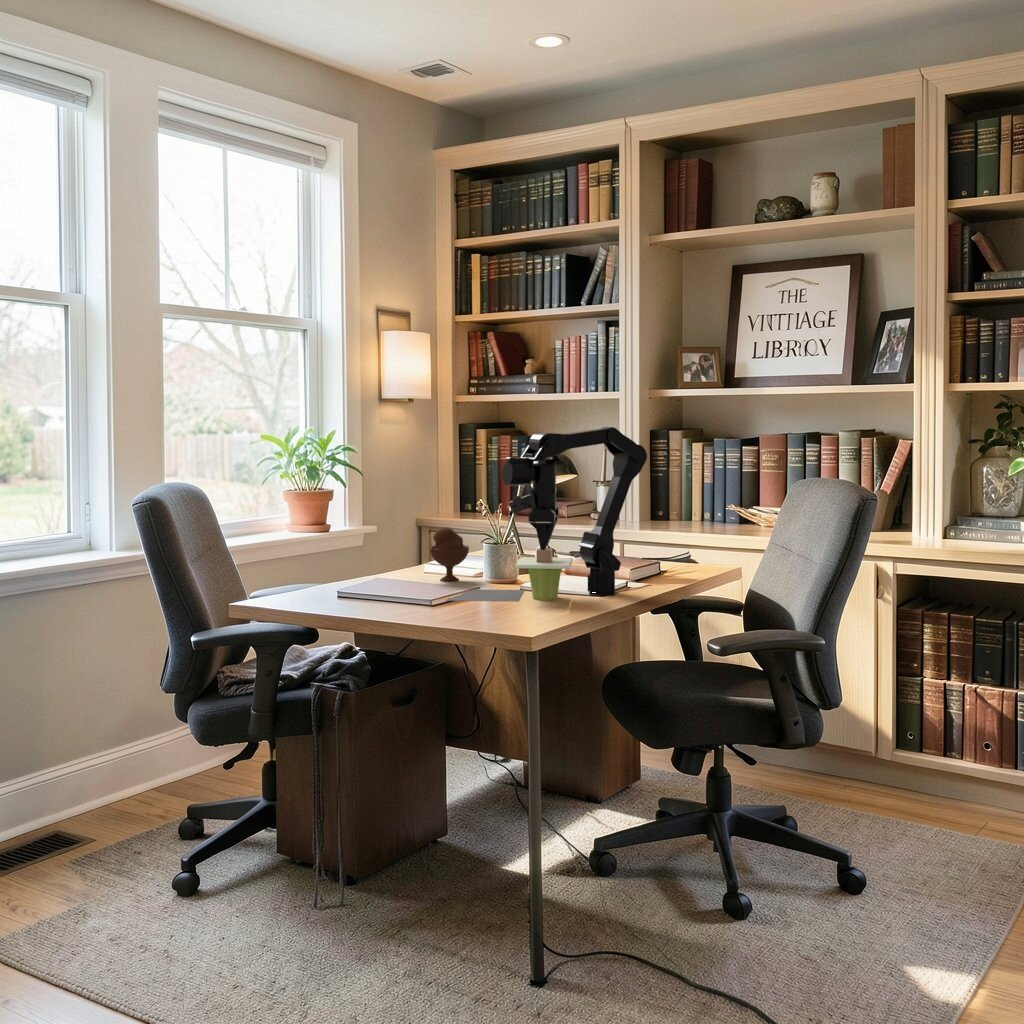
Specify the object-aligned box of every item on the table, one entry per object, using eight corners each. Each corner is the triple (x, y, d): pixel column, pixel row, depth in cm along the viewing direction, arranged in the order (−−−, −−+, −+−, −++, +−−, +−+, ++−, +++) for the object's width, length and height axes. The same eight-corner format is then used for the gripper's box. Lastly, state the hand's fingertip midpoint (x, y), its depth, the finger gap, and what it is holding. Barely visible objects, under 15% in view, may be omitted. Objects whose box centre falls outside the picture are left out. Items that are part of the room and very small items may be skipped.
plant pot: (523, 602, 262) (523, 567, 261) (528, 595, 272) (528, 561, 271) (561, 603, 261) (561, 567, 260) (565, 596, 270) (565, 562, 269)
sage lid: (572, 560, 271) (572, 545, 271) (569, 568, 258) (569, 553, 258) (521, 560, 273) (521, 545, 272) (515, 568, 260) (515, 552, 259)
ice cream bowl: (464, 585, 288) (464, 529, 286) (424, 584, 290) (423, 528, 288) (474, 578, 298) (473, 524, 297) (435, 577, 300) (434, 524, 299)
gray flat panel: (524, 591, 278) (524, 589, 278) (518, 602, 262) (518, 601, 262) (456, 590, 280) (455, 589, 280) (445, 601, 264) (445, 600, 264)
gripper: (515, 481, 273) (515, 542, 275) (507, 487, 255) (507, 552, 257) (559, 481, 272) (559, 542, 274) (554, 487, 254) (554, 552, 255)
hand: (544, 547), depth 265 cm, fingers open, 9 cm apart
